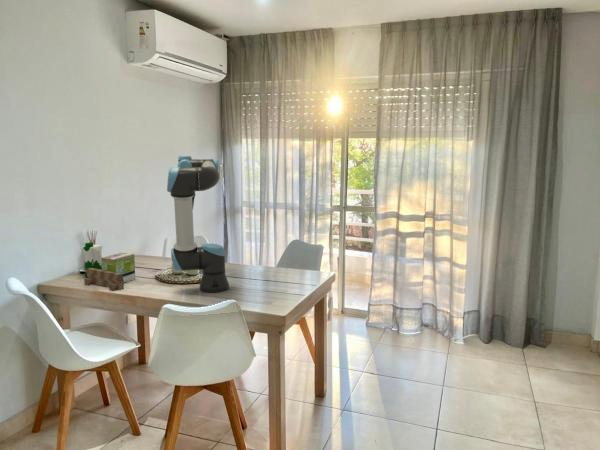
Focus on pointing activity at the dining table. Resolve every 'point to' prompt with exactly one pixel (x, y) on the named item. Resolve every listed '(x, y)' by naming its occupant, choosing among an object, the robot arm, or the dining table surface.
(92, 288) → the dining table surface
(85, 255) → the milk carton
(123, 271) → the tea box
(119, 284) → the brown bumpy block
